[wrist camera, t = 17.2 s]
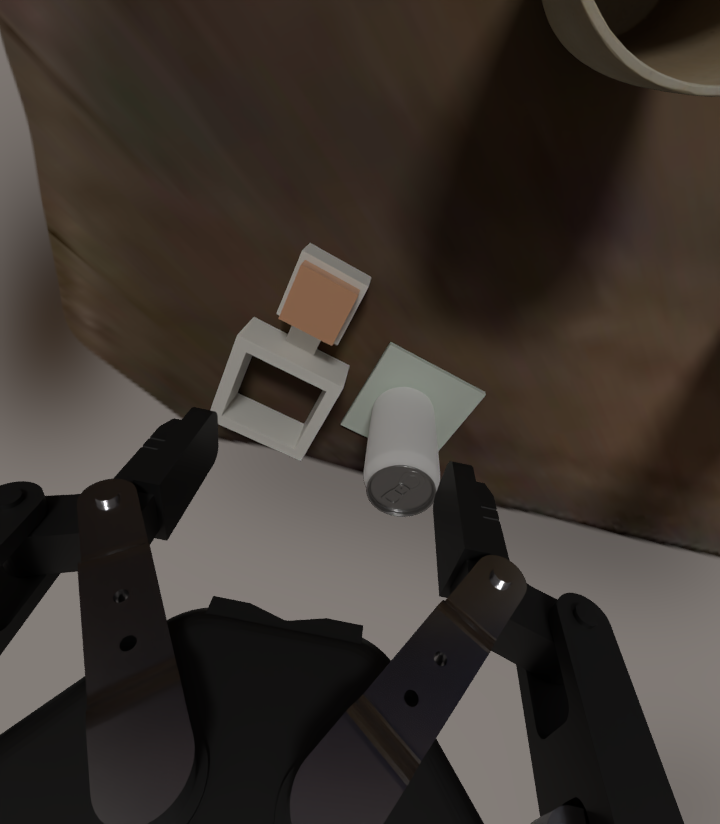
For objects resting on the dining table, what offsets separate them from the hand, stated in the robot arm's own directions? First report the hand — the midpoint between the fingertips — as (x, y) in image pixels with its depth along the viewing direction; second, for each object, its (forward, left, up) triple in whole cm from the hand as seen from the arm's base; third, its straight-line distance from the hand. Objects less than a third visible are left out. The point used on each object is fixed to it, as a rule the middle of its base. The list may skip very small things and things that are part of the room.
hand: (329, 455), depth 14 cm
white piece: (+3, +10, -26) cm, 28 cm away
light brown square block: (+3, +4, -25) cm, 26 cm away
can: (-9, +11, -25) cm, 29 cm away
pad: (-10, +11, -26) cm, 30 cm away
